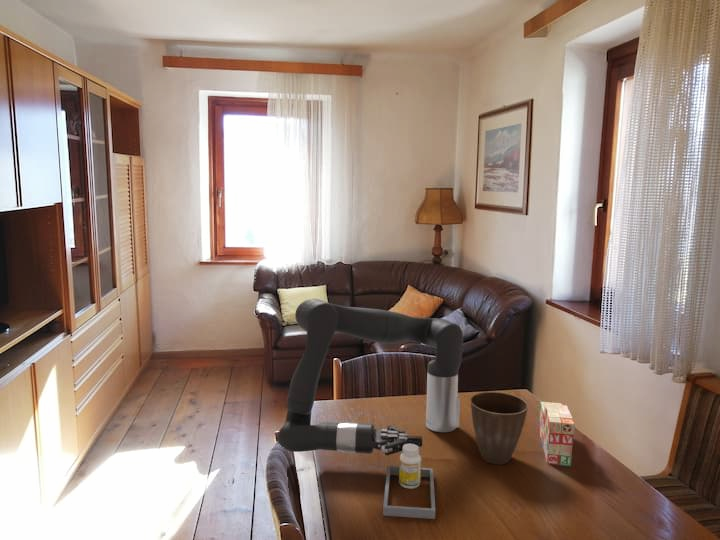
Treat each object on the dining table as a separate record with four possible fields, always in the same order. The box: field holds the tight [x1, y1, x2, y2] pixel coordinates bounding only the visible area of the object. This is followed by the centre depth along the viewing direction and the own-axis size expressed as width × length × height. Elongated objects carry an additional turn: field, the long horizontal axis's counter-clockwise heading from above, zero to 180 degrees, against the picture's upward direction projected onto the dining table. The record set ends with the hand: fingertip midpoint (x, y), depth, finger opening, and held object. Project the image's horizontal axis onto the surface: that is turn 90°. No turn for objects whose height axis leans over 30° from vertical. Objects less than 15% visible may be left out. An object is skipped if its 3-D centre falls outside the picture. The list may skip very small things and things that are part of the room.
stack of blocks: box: [538, 401, 575, 467], centre depth 157 cm, size 21×6×12 cm, turn 168°
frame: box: [382, 465, 436, 520], centre depth 133 cm, size 19×12×2 cm, turn 174°
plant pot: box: [470, 391, 529, 465], centre depth 150 cm, size 15×15×16 cm
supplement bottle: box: [398, 444, 422, 490], centre depth 137 cm, size 5×5×10 cm
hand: (422, 441), depth 143 cm, fingers closed
